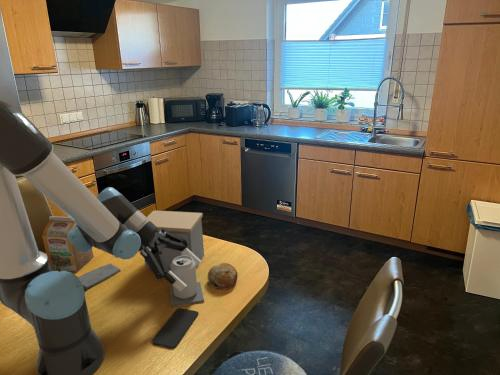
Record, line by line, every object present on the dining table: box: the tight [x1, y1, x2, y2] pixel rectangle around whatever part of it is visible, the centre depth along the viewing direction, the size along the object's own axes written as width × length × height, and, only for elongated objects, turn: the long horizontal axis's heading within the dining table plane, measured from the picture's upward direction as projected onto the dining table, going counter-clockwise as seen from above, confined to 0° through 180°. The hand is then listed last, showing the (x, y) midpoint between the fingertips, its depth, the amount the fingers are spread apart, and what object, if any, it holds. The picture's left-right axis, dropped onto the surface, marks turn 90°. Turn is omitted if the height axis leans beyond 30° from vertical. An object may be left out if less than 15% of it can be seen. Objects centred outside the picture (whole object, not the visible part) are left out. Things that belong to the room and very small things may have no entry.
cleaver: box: [77, 263, 121, 292], centre depth 124 cm, size 29×10×2 cm, turn 146°
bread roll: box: [207, 262, 238, 290], centre depth 124 cm, size 10×10×8 cm
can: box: [171, 255, 198, 299], centre depth 116 cm, size 8×8×12 cm
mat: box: [169, 281, 205, 308], centre depth 118 cm, size 10×10×1 cm
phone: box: [151, 307, 199, 349], centre depth 104 cm, size 7×1×15 cm
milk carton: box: [41, 215, 95, 274], centre depth 135 cm, size 11×11×19 cm
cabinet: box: [142, 210, 205, 272], centre depth 133 cm, size 14×19×17 cm
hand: (191, 275), depth 115 cm, fingers open, 13 cm apart
